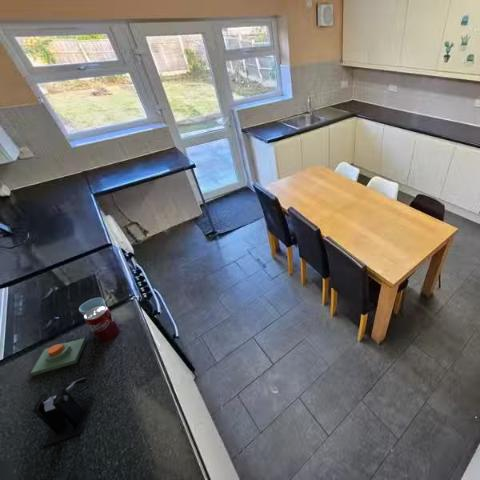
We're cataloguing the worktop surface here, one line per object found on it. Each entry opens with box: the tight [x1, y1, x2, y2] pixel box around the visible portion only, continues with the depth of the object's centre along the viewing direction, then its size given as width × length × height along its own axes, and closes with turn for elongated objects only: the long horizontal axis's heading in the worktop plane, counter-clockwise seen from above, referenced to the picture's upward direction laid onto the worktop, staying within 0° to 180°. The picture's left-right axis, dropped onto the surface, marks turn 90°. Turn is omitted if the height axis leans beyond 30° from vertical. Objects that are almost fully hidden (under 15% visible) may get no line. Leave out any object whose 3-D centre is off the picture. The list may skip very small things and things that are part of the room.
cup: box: [78, 297, 107, 317], centre depth 104 cm, size 8×8×10 cm
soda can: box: [83, 305, 122, 343], centre depth 98 cm, size 7×7×12 cm
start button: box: [48, 343, 64, 356], centre depth 91 cm, size 4×4×2 cm
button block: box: [30, 337, 89, 376], centre depth 92 cm, size 12×10×4 cm
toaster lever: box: [43, 377, 87, 412], centre depth 75 cm, size 13×4×2 cm
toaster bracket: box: [32, 387, 94, 448], centre depth 72 cm, size 10×8×12 cm
